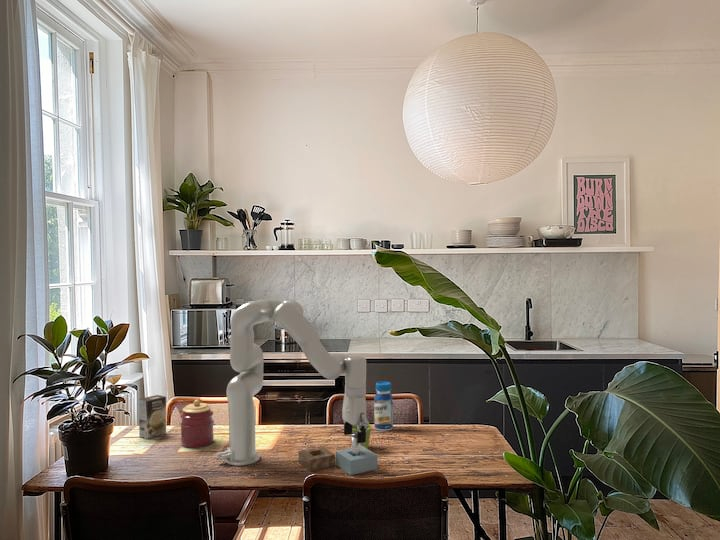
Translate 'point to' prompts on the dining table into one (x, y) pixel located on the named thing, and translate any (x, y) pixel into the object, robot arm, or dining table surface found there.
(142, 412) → the coffee box
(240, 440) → the robot arm
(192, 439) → the canister
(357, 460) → the dock block
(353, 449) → the pin
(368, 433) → the plant pot
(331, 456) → the mount block
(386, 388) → the beverage bottle
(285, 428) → the dining table surface
